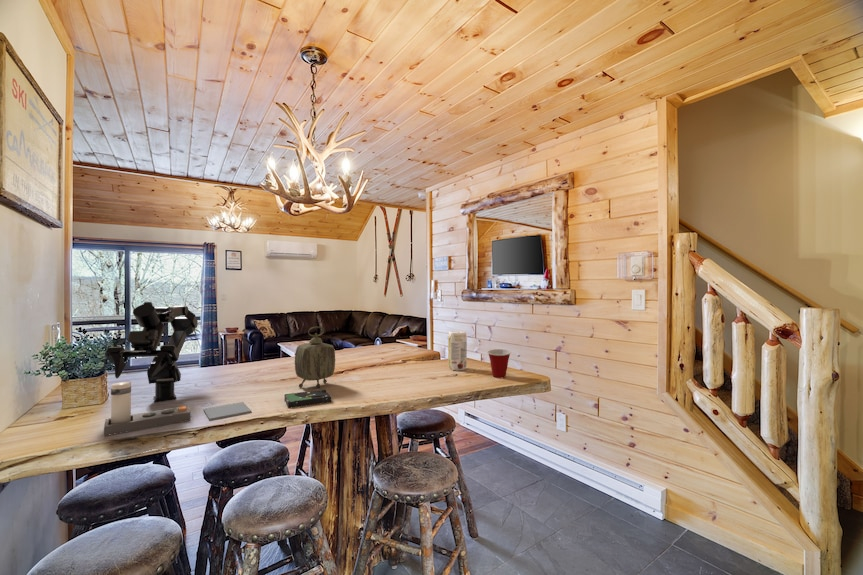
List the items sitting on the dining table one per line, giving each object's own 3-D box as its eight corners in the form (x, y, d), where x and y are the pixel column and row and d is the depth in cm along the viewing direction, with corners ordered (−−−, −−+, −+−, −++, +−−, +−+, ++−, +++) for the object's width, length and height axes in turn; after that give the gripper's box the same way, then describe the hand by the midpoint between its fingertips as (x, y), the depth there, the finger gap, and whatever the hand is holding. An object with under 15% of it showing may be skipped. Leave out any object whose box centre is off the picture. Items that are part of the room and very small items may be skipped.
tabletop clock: (326, 381, 162) (327, 324, 162) (337, 385, 156) (337, 326, 156) (294, 387, 152) (294, 326, 152) (303, 392, 146) (304, 328, 146)
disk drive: (324, 396, 143) (283, 401, 135) (325, 389, 143) (283, 393, 135) (331, 403, 133) (287, 409, 126) (331, 396, 134) (288, 401, 126)
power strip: (105, 427, 108) (105, 416, 108) (187, 413, 121) (187, 403, 121) (103, 436, 102) (104, 424, 102) (190, 420, 114) (190, 409, 114)
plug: (115, 426, 109) (116, 382, 109) (133, 425, 110) (134, 381, 110) (102, 435, 102) (102, 388, 102) (121, 434, 103) (122, 387, 103)
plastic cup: (483, 377, 172) (483, 351, 172) (492, 373, 181) (492, 348, 181) (505, 380, 166) (506, 353, 166) (514, 375, 175) (514, 350, 175)
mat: (203, 410, 123) (203, 408, 123) (242, 403, 131) (242, 401, 131) (209, 420, 114) (209, 418, 114) (251, 412, 122) (251, 410, 122)
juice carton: (467, 370, 187) (468, 332, 187) (451, 371, 184) (451, 333, 184) (462, 367, 194) (462, 330, 194) (446, 368, 192) (447, 331, 192)
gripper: (108, 321, 117) (86, 363, 106) (176, 320, 122) (161, 360, 111) (121, 343, 125) (101, 384, 114) (184, 341, 130) (171, 380, 119)
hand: (134, 376), depth 114 cm, fingers open, 9 cm apart
